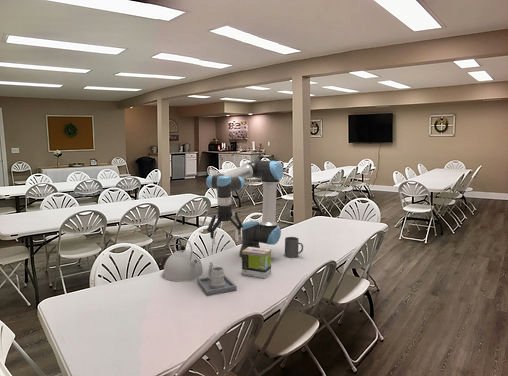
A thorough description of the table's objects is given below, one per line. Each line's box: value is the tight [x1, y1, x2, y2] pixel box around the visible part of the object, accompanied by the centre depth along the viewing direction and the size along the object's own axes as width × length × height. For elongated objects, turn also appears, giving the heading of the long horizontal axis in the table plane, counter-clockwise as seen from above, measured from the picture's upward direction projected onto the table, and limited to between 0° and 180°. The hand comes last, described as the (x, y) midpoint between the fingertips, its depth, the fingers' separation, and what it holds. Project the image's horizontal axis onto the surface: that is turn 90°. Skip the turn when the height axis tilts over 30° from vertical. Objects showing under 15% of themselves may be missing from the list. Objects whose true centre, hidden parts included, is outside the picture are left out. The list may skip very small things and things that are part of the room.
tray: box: [196, 275, 238, 297], centre depth 206 cm, size 18×16×2 cm
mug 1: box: [207, 261, 226, 289], centre depth 205 cm, size 8×12×12 cm, turn 43°
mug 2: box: [284, 236, 304, 259], centre depth 257 cm, size 14×9×12 cm
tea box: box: [241, 247, 272, 279], centre depth 225 cm, size 15×10×15 cm, turn 65°
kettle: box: [163, 235, 204, 282], centre depth 223 cm, size 25×23×22 cm
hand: (225, 242), depth 210 cm, fingers open, 13 cm apart
